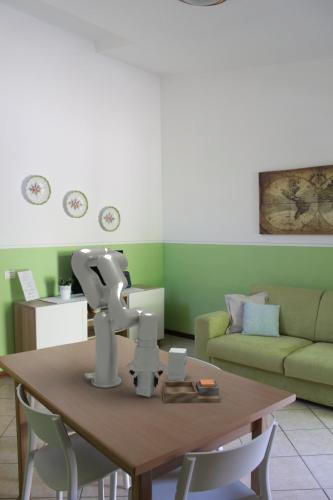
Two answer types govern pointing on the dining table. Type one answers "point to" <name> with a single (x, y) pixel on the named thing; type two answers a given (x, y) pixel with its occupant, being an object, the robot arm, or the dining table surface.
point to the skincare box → (145, 383)
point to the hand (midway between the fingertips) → (145, 385)
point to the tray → (188, 392)
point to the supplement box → (177, 364)
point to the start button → (207, 383)
